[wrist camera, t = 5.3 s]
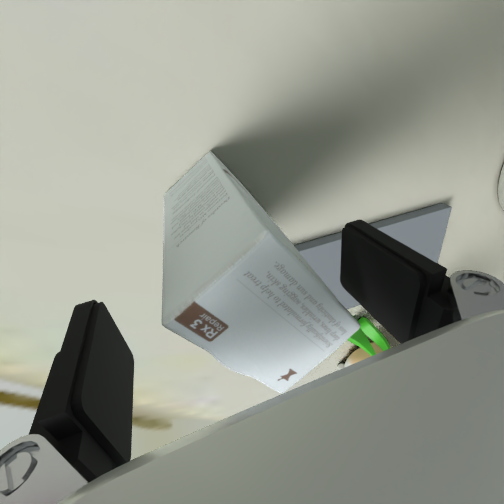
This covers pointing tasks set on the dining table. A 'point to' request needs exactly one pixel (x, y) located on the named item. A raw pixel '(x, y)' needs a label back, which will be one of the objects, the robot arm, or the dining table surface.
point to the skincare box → (243, 282)
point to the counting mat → (399, 227)
